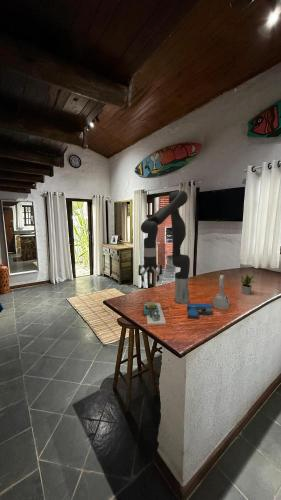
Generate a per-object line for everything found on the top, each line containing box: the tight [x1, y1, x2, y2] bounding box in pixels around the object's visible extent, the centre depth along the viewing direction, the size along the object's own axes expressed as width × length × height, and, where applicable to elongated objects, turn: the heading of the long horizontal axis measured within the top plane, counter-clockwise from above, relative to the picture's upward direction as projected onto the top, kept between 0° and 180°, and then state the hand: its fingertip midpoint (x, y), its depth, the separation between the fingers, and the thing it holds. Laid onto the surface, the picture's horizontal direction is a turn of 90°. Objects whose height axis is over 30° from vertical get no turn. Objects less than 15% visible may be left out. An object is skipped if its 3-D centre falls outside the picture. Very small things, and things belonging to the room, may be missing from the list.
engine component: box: [212, 274, 230, 310], centre depth 137 cm, size 11×20×10 cm
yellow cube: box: [145, 301, 156, 310], centre depth 129 cm, size 5×5×5 cm
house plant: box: [238, 272, 257, 296], centre depth 158 cm, size 14×14×16 cm
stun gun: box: [186, 302, 214, 320], centre depth 127 cm, size 4×16×15 cm
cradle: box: [143, 304, 159, 316], centre depth 129 cm, size 8×8×3 cm
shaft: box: [149, 309, 160, 321], centre depth 121 cm, size 8×4×4 cm, turn 22°
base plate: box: [144, 302, 167, 326], centre depth 129 cm, size 10×28×1 cm, turn 2°
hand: (150, 281), depth 127 cm, fingers open, 8 cm apart
